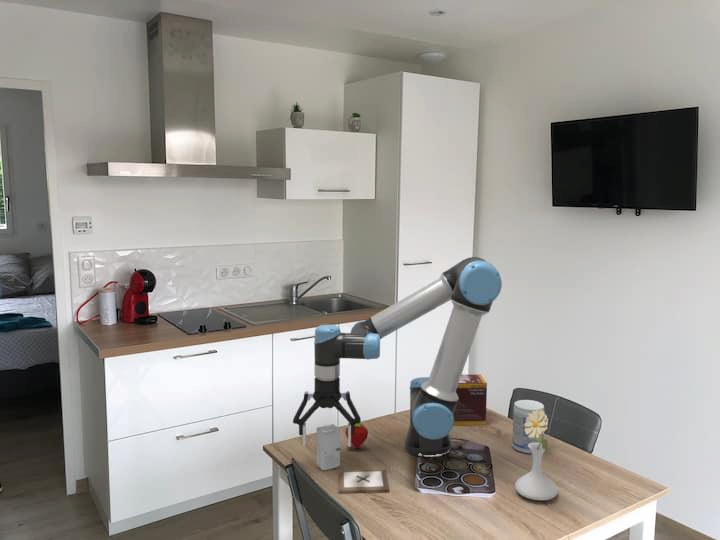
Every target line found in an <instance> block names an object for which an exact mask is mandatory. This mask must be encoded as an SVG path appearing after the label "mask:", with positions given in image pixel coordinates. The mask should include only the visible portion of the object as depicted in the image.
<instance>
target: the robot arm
mask: <svg viewBox="0 0 720 540" xmlns="http://www.w3.org/2000/svg"><path fill="white" fill-rule="evenodd" d="M502 284H503V282H502V278H501V275H500V272H499V270H498V269H497V268H496V267H495V266H494V265H493V264H492V263H490V262H488V261H487V260H485V259H483V258H481V257H478V256H470V257H467V258H464V259H463V260H461V261H459V262H457V263H456V264H454V265H453V266H451V267H450V268H449V269H447V270H445V271H443V272H441V274H440V277H439V278H438V279H436V280H434V281H432V282H431V283H429V284H427V285H425V286H423V287H422V288H420V289H418V290H417V291H415V292H413V293H412V294H409V295H407V296H406V297H404V298H402V299H401V300H399V301H397V302H395V303H393V304H392V305H390V306H388V307H386V308H385V309H383V310H381V311H379V312H378V313H375V314H374V315H372V316H371V317H369V318H367V319H366V320H359V321H357V322H356V323H355V324H354V325H353V327H351V330H350V332H342V331H341V328H340V327H339V326H338V325H336V324H333V325H332V324H321V325H319V326H317V327H316V328H315V330H314V341H313V343H314V349H313V350H314V377H315V378H314V392H313V393H312V392H309V391H308V390H307V391H305V392H304V394H303V399H302V401H301V403H300V404H299V407H298V408H297V411H296V413H295V415H294V417H293V420H292V423H293V424H294V425H296V424H297V425H298V433H299V436H302V448H306V444H307V431H306V430H307V425H306V424H307V423H306V422H307V421H308V420H309V419H310V417H311V416H312V415H313V414H314V413H315V411H317V410H318V409H319V408H321V409H326V408H327V409H333V408H335V409H336V410H337V411H338V412H339V413H340V414H341V415H342V416H343V417H344V418H345V420H346V421H347V423H348V424H347V427H348V438H347V447H349V448H350V447H352V444H351V435H354V434H355V424H357V423H362V419H361V417H360V414H359V413H358V410H357V408H356V406H355V405H354V403H353V400H352V399H351V393H350V391H349V390H348V391H345V392H341V391H340V390H341V387H340V386H341V385H340V384H341V383H340V381H341V379H340V376H341V374H340V373H341V359H352V360H353V359H354V360H355V359H356V360H367V361H369V360H377V359H379V358H380V356H381V339H383V338H385V337H387V336H389V335H390V334H392V333H394V332H396V331H398V330H400V328H403V327H404V326H406V325H408V324H410V323H412V322H414V321H416V320H417V319H419V318H421V317H423V316H425V315H427V314H428V313H430V312H432V311H434V310H436V309H437V308H438V307H441V306H442V305H444V304H446V303H447V302H450V301H451V303H452V305H453V307H452V310H451V313H450V316H449V319H448V322H447V325H446V328H445V331H444V333H443V336H442V339H441V342H440V345H439V348H438V350H437V354H436V356H435V361H434V363H433V366H432V368H431V371H430V374H429V376H423V377H415V378H413V379H412V380H411V381H410V386H409V399H410V401H409V426H408V430H407V432H406V435H405V438H404V449H405V451H407V453H409V454H411V455H413V456H415V457H419V456H418V454H419V453H421V454H423V455H436V454H442V453H445V452H447V451H448V450H449V449H450V448H451V446H452V439H451V435H450V433H451V431H452V430H453V428H454V427H453V424H454V417H453V414H454V411H455V408H456V405H457V402H458V399H459V397H458V395H457V393H456V389H457V386H458V383H459V380H460V377H461V375H463V371H464V369H465V366H466V363H467V361H468V357H469V355H470V351H471V348H472V346H473V343H474V339H475V337H476V334H477V332H478V328H479V326H480V323H481V320H482V318H483V316H485V315H487V314H488V313H490V311H491V307H492V305H493V302H494V301H495V300H496V299H497V298H498V297H499V295H500V293H501V290H502ZM342 398H343V400H344V401H346V404H347V405H348V407H349V410H350V412H351V413H352V415H353V416H352V415H351V414H350V413H349V412H348V410H347V409H346V408H345V407H344V406H343V404H342V403H341V402H340V400H341V399H342ZM311 399H313V400H314V403H313V404H312V406H310V408H308V410H307V411H306V412H305V413H304V414H303V411H304V410H305V407H307V406H306V405H307V404H308V401H310V400H311ZM302 414H303V416H301V415H302ZM300 417H301V418H300Z"/></svg>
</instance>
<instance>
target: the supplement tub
mask: <svg viewBox="0 0 720 540" xmlns="http://www.w3.org/2000/svg"><path fill="white" fill-rule="evenodd" d="M536 410H538V411H541V410H542V411H543V412H544V413H545V405H544V404H543V403H541V402H540V401H536V400H534V399H533V400H531V399H520V400H516V401H515V402H514V403H513V417H512V418H513V419H512V443H511V445H512V447H513V449H514V450H516V451H517V452H520V453H524V454H532V453H531V450H530V448H529V447H528V444H530V443H534V442H536V443H538V442H537V441H536V440H535V439H533V438H529V437H528V435H529V434H528V435H526V432H525V427H526V426H525V425H524V424H525V423H526V418H527V417H528V415H529V414H532V412H533V411H536ZM539 438H540V440H541V441H542V435H541V437H539Z"/></svg>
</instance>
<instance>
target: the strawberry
mask: <svg viewBox="0 0 720 540" xmlns="http://www.w3.org/2000/svg"><path fill="white" fill-rule="evenodd" d="M368 435H369V431H368V428H367V427H366V426H365V425H364V424H363V423H362V422H360V423H357V424H355V434H354V435H351V446H353V447H354V448H355V449H359V448H360V447H361V446H362V445H363V444H364V443H365V441H366V440H367V438H368ZM345 436H346V438H347V439H348V426H347V427H346V428H345Z"/></svg>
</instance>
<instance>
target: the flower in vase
mask: <svg viewBox="0 0 720 540" xmlns="http://www.w3.org/2000/svg"><path fill="white" fill-rule="evenodd" d="M524 425H525V426H526V427H525V432H526V435H528V434H529V435H528V437H529V438H533V439H535V440H536V441H537V442H538V443H536V442H534V443H530V444H528V447H529V448H530V450H531V453H530V454H531V458H532V469H531V471H530V472H528V473H527V474H524V475H522V476H521V477H519V478H518V479H517V480H516V482H515V483H514V488H515V490H516V492H517V493H518V494H519V495H520V496H522V497H524V498H527V499H530V500H534V501H549V500H552V499H553V498H555V497H556V496H557V495H558V493H559V490H558V486H557V485H556V484H555V482H554V481H553V480H551V479H550V478H549V477H547V476H546V475H545V474H544V473H543V471H542V460H543V455H544V453H545V452H546V451H550V448H549V441H548V439H544V438H545V437H544V434H545V432H546V431H547V430H548V425H549V418H548V416H547V414H546V413H545V411H544V412H543V411H542V410H541V411H538V410H536V411H533V412H532V414H529V415H528V417H527V418H526V423H525V424H524ZM541 435H542V441H541V440H540V438H539V437H541Z"/></svg>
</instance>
